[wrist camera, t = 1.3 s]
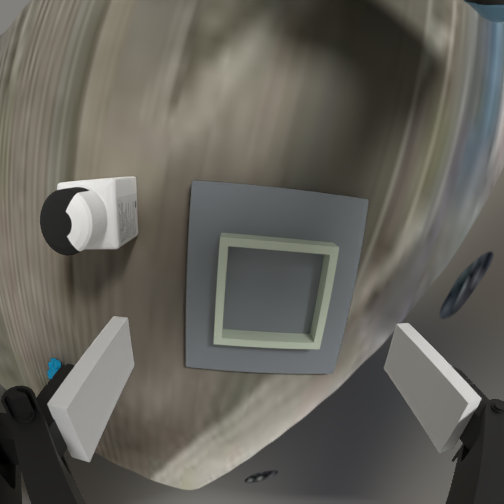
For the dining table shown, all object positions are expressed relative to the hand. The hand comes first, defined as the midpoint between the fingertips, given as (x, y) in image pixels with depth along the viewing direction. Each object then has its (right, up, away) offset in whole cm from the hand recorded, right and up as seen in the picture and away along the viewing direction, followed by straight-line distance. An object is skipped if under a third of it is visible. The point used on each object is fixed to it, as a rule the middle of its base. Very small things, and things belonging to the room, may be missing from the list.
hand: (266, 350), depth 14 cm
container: (-19, +10, +24) cm, 32 cm away
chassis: (+2, 0, +27) cm, 27 cm away
